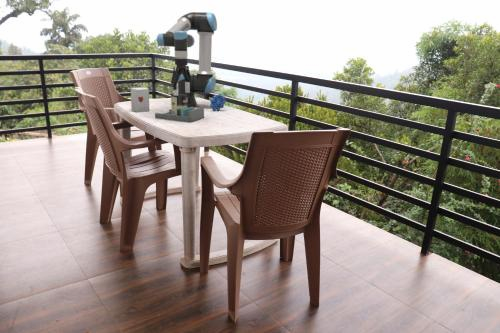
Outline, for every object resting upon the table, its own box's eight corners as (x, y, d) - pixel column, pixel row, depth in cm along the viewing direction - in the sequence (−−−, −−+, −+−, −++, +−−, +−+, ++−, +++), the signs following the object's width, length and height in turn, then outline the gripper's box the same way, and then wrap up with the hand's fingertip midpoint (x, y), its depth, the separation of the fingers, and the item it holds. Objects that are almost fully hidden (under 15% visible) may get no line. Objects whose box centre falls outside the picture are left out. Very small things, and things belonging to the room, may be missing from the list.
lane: (155, 118, 252) (154, 107, 250) (170, 114, 267) (169, 103, 265) (190, 122, 244) (190, 111, 242) (204, 117, 259) (204, 107, 257)
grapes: (223, 109, 291) (223, 92, 288) (226, 111, 285) (227, 93, 282) (207, 110, 287) (207, 92, 283) (210, 111, 281) (211, 94, 277)
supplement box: (137, 112, 269) (136, 89, 265) (131, 110, 276) (130, 87, 271) (150, 111, 275) (149, 88, 270) (143, 109, 281) (142, 87, 277)
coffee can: (190, 116, 259) (190, 93, 255) (184, 119, 250) (184, 95, 245) (175, 115, 261) (174, 92, 257) (168, 117, 252) (168, 94, 247)
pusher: (181, 119, 247) (180, 109, 246) (192, 115, 259) (192, 106, 258) (183, 119, 247) (183, 110, 245) (194, 116, 259) (194, 107, 257)
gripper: (186, 56, 256) (186, 91, 263) (164, 58, 234) (165, 96, 241) (196, 57, 254) (197, 92, 260) (175, 59, 232) (176, 97, 238)
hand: (181, 94), depth 251 cm, fingers open, 13 cm apart
